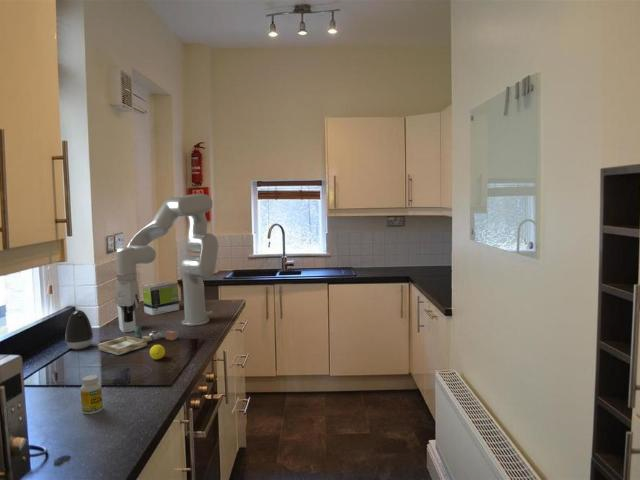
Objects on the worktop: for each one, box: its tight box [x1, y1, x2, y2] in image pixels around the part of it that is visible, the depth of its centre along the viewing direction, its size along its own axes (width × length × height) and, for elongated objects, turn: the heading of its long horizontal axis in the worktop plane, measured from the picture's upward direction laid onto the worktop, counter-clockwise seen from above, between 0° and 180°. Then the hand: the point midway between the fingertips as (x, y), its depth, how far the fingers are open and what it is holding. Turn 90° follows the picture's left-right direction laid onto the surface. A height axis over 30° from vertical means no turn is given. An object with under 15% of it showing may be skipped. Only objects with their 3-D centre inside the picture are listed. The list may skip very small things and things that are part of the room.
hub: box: [148, 329, 162, 341], centre depth 212 cm, size 5×5×3 cm
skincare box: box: [116, 304, 137, 333], centre depth 227 cm, size 8×6×15 cm
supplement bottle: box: [79, 374, 104, 415], centre depth 141 cm, size 5×5×10 cm
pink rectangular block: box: [165, 330, 178, 341], centre depth 211 cm, size 2×4×3 cm, turn 56°
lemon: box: [149, 344, 166, 360], centre depth 185 cm, size 7×5×5 cm
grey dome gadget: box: [64, 309, 94, 350], centre depth 202 cm, size 10×10×15 cm
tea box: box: [142, 280, 180, 316], centre depth 262 cm, size 15×10×15 cm
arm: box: [97, 325, 153, 356], centre depth 201 cm, size 19×13×7 cm
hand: (128, 321), depth 208 cm, fingers closed
